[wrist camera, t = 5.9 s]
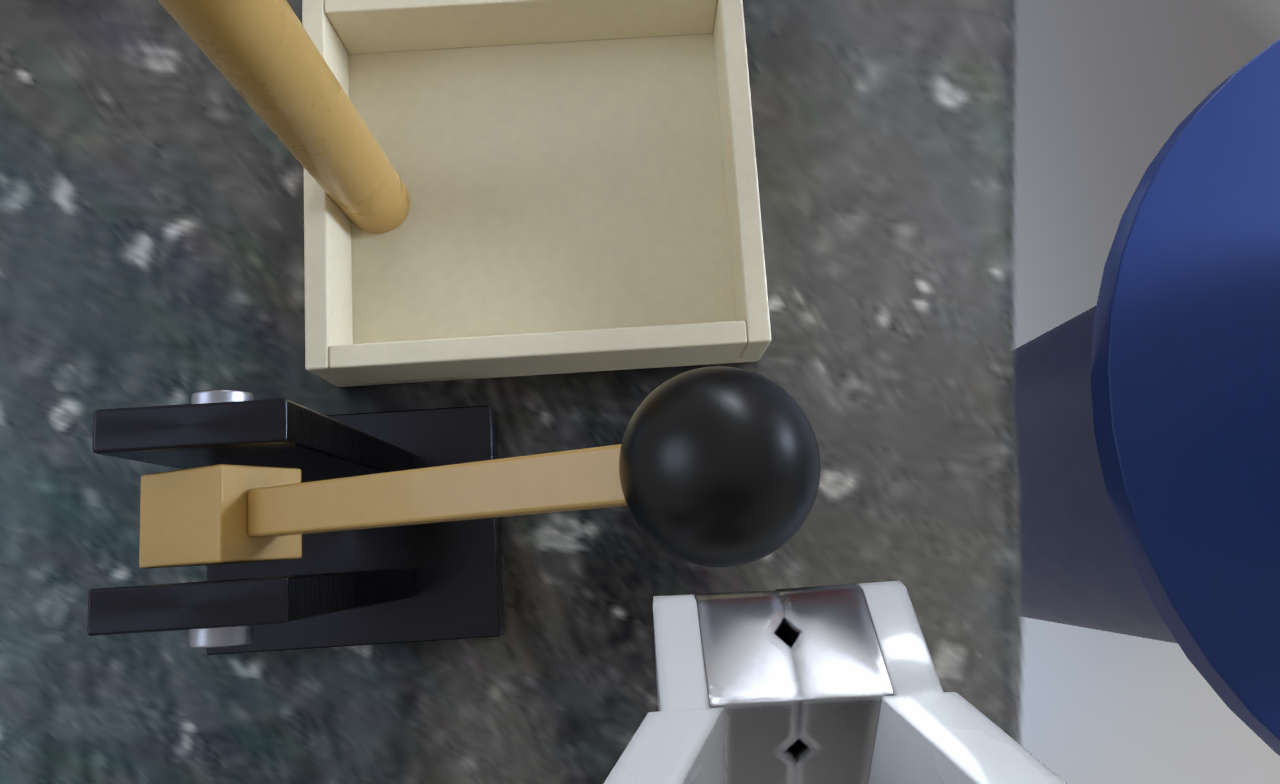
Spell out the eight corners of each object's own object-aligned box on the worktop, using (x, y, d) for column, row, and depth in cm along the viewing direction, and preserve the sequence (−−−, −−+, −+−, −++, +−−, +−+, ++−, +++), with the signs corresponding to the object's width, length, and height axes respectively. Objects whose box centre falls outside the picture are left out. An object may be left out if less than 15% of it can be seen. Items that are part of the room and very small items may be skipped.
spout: (562, 167, 38) (490, -189, 20) (565, 227, 37) (494, -79, 19) (350, 180, 38) (79, -166, 19) (351, 240, 37) (76, -55, 19)
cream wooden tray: (731, 21, 39) (740, -32, 35) (759, 361, 37) (771, 341, 33) (332, 44, 39) (301, -7, 35) (337, 387, 36) (304, 370, 33)
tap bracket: (495, 410, 36) (409, 325, 23) (504, 633, 35) (418, 686, 21) (222, 426, 36) (-30, 351, 22) (221, 651, 35) (-47, 715, 21)
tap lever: (835, 366, 19) (769, 336, 16) (854, 558, 18) (788, 566, 15) (243, 453, 26) (116, 443, 23) (243, 590, 26) (113, 601, 22)
